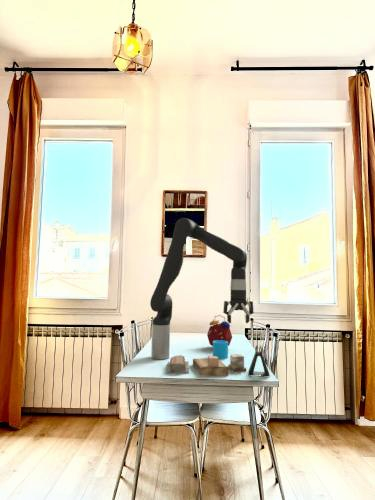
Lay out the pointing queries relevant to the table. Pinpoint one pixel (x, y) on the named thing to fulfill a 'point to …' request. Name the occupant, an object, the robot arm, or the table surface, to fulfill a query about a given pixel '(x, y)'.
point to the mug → (220, 349)
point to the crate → (213, 361)
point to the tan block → (237, 363)
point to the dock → (209, 368)
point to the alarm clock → (219, 331)
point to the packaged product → (178, 365)
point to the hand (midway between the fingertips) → (238, 323)
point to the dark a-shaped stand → (251, 369)
